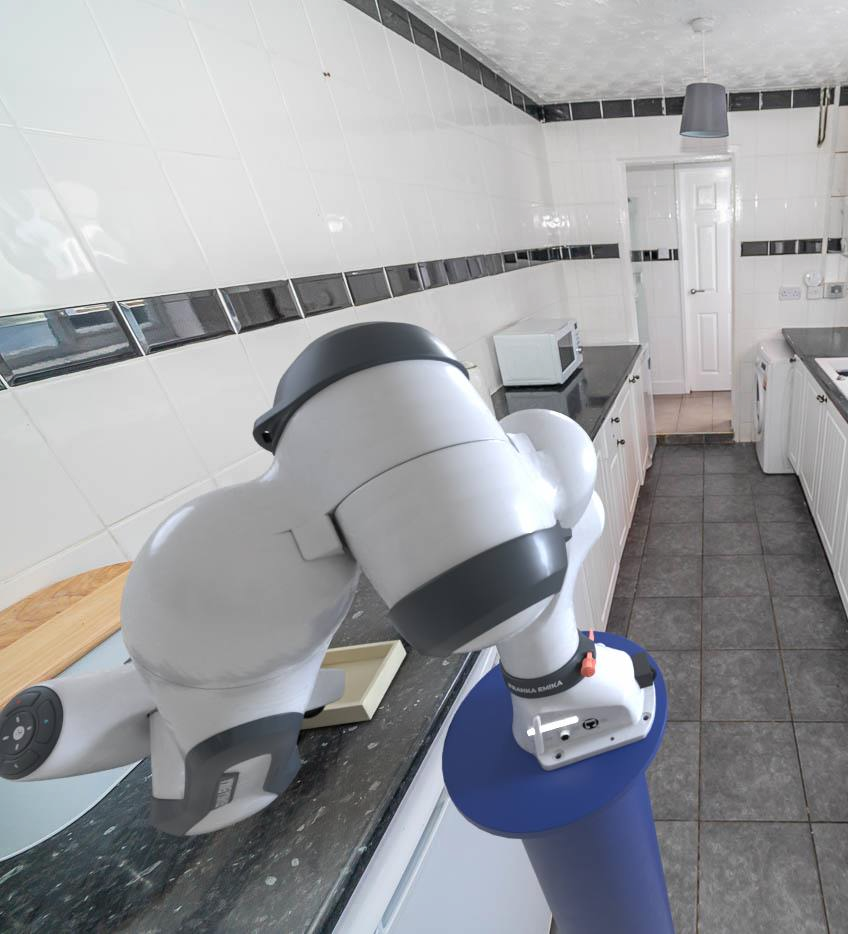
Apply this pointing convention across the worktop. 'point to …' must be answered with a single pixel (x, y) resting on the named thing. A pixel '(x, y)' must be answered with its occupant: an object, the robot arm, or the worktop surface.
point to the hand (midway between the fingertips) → (294, 690)
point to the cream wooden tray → (359, 681)
